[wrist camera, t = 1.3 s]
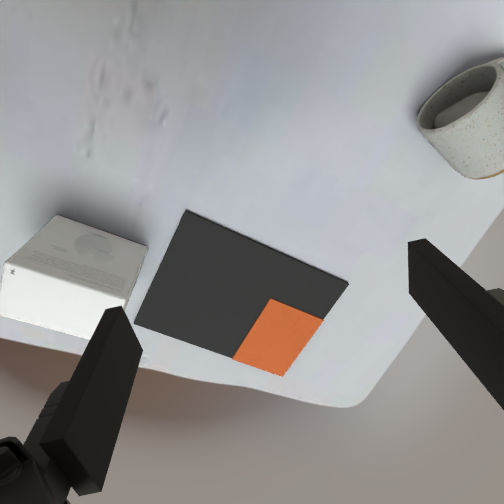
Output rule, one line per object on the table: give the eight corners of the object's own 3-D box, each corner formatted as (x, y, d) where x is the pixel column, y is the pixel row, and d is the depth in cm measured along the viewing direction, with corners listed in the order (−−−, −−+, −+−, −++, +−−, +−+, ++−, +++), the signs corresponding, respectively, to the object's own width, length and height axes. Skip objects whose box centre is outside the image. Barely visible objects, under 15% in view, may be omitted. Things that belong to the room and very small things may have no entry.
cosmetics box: (45, 261, 42) (-8, 316, 33) (56, 213, 39) (2, 258, 30) (134, 290, 44) (108, 349, 35) (149, 246, 42) (127, 297, 32)
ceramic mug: (448, 174, 40) (495, 195, 33) (402, 125, 37) (442, 136, 30) (532, 94, 37) (603, 99, 30) (488, 33, 34) (555, 23, 27)
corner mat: (134, 321, 46) (133, 324, 46) (185, 209, 40) (185, 211, 40) (281, 373, 52) (282, 376, 52) (348, 282, 46) (349, 285, 45)
